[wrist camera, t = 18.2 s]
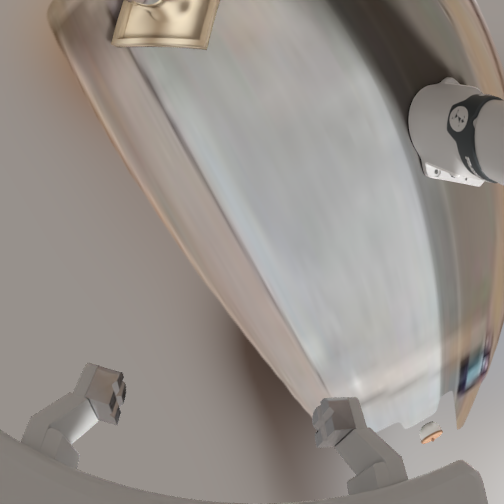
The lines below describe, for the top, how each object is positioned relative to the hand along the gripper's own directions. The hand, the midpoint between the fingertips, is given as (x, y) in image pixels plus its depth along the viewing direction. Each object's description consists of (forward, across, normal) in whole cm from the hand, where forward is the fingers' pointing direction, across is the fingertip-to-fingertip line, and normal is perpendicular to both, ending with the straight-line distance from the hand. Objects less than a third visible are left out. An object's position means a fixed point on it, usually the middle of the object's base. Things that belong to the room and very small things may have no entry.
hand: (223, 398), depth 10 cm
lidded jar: (+34, -100, +83) cm, 134 cm away
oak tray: (+34, +15, -25) cm, 45 cm away
